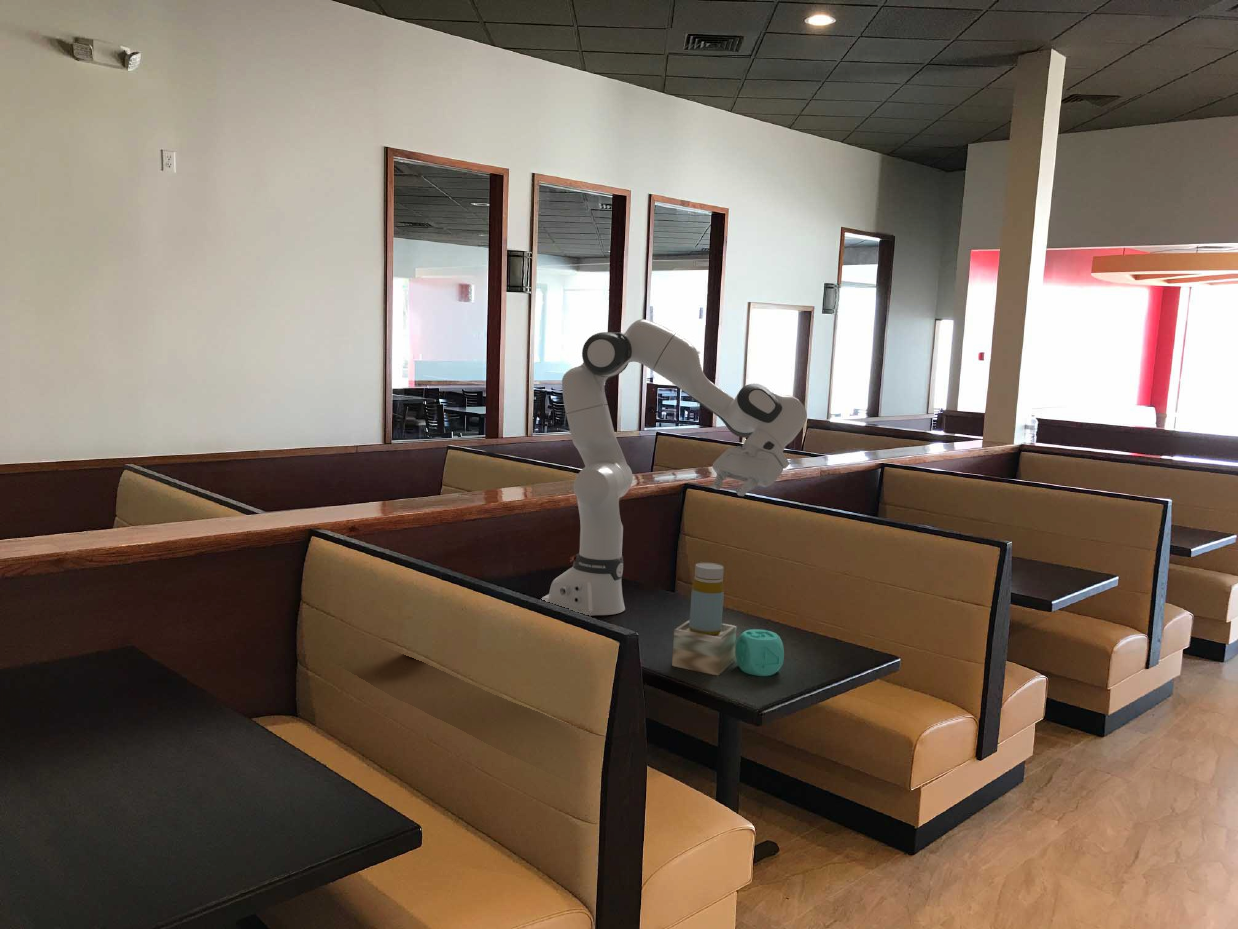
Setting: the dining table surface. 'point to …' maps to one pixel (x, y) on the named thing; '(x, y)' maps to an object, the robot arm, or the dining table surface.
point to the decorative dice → (759, 652)
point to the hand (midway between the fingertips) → (726, 490)
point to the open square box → (704, 649)
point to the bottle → (707, 599)
